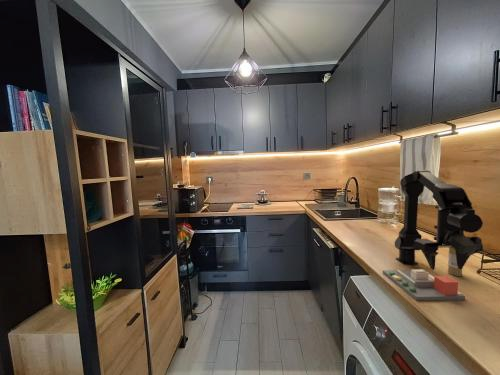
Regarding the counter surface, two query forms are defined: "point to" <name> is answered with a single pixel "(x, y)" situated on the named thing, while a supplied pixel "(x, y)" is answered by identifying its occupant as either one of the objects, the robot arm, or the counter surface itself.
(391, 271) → the breaker panel
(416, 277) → the panel
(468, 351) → the counter surface
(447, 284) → the cap
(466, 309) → the counter surface
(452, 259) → the sprinkles bottle
